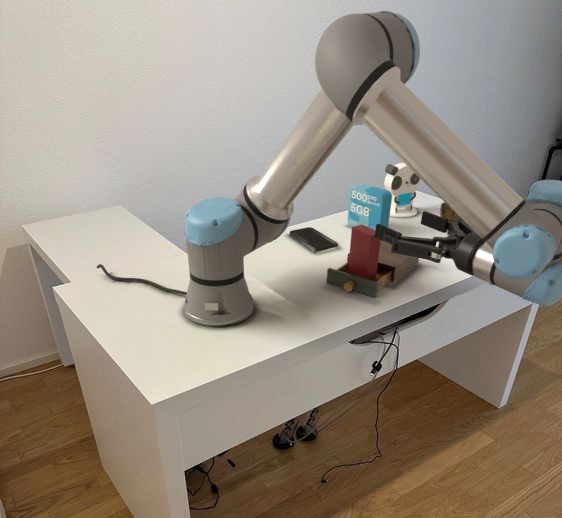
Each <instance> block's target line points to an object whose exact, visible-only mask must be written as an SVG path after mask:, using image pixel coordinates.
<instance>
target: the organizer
mask: <svg viewBox="0 0 562 518" xmlns="http://www.w3.org/2000/svg"><path fill="white" fill-rule="evenodd" d="M391 246H392V245H391V244H389V243H386V242H384V241H382V240H381V241H380V250H379V258H378V264H379V265H383V266H387V267H390V268H394V270H393V277H392V281H391V283H396V282H397V280H398V279H400V278H401V277H402V276H403V275H404V274H406V273H407V272H408V271H409V270H410V269H412V268H413V267H414V266H416V265H417V264H418V263H419V260H420V258H416V257H411V256H406V255H401V254H396V253H392V252H391ZM349 254H350V252H349V253H347V259H346V263H347V262H348V261H349Z"/></svg>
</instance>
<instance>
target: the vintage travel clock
mask: <svg viewBox="0 0 562 518" xmlns="http://www.w3.org/2000/svg"><path fill="white" fill-rule="evenodd" d="M439 216H440V217H443V218H445V219H448V220H449V221H450V220H455V221H456V222H457V221H458V219H462V218H461V217H459V216H458V215H457V214H456V213H455V212H454V211H453V210H452V209H451V208H450V207H449V206H448V205H447V204H446V203H445V202H444V201H443V202H442V203H441V204H440V210H439Z"/></svg>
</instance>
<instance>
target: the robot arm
mask: <svg viewBox="0 0 562 518" xmlns="http://www.w3.org/2000/svg"><path fill="white" fill-rule="evenodd" d="M420 45H421V43H420V38H419V35H418V32H417V30H416V28H415V27H414V25H413V24H412V22H411V20H409V19H408V18H407V17H405V16H404V15H402V14H400V13H397V12H393V11H390V10H380V11H375V12H364V13H348V14H345V15H343V16H340V17H339V18H337V19H335V20H334V21H333V22H331V23H330V24H329V25H328V27H326V29H325V30H324V31H323V33H322V34H321V36H320V38H319V41H318V43H317V46H316V50H315V58H314V66H315V67H314V68H315V73H316V77H317V80H318V83H319V85H320V89H319V90H318V92H317V93H316V94H315V96H314V98H313V99H312V100H311V102H310V103H309V105H308V107H307V108H306V109H305V111H304V112H303V114H302V115H301V116H300V118H299V120H298V121H297V123H296V124H295V125H294V127H292V130H291V131H290V132H289V134H288V135H287V137H286V139H285V140H284V141H283V143H282V144H281V146H280V147H279V149H278V150H277V151H276V152H275V154H274V156H273V157H272V159H271V160H270V161H269V163H268V164H267V166H266V167H265V169H264V170H263V172H262V173H261V174H260V175H254V176H252V177H250V178H249V179H248V181H247V182H246V183H245V185H244V186H243V187H242V189H241V191H240V192H239V194H238V195H237V196H236V197H235V198H234V199H233V198H229V197H226V196H225V197H223V196H222V197H221V196H219V197H218V196H216V197H212V198H205V199H202V200H200V201H197V202H195V203H194V204H192V205H191V206H190V207H189V208H188V209H187V210H186V212H185V216H184V236H185V244H186V253H187V261H188V271H189V282H188V286H187V291H184V290H178V289H173V288H169V287H165V286H163V285H160V284H158V283H156V282H153V281H151V280H149V279H144V278H139V277H120V276H115V275H112V274H110V273H109V271H107V269H106V267H105V266H104V265H103V264H102V263H99V264H98V265H96V269H100V268H101V271H102V272H103V273H104V274H105V275H106V277H108V278H109V279H111V280H114V281H120V282H123V281H124V282H138V283H144V284H148V285H151V286H152V287H155V288H157V289H160V290H162V291H165V292H170V293H174V294H179V295H183V296H185V299H184V313H185V316H186V317H187V318H188V319H189V320H190V321H192V322H193V323H196V324H199V325H202V326H207V327H227V326H232V325H236V324H238V323H241V322H243V321H246V320H247V319H249V317H251V316H252V314H253V312H254V299H253V297H252V294H251V292H250V290H249V287H248V283H247V280H246V278H245V261H244V259H245V256H248V255H249V254H252V252H254V251H256V250H258V249H260V248H261V247H264V246H265V245H267V244H269V243H272V242H274V241H275V240H278V238H280V236H282V235H283V234H284V232H286V230H287V229H288V227H289V225H290V221H291V217H292V215H293V213H294V211H295V209H294V208H295V207H294V201H295V200H296V199H297V198H298V197H299V195H300V194H301V193H302V191H303V190H304V189H305V188H306V186H307V185H308V184H309V183H310V181H311V180H312V179H313V178H314V177H315V175H316V174H317V173H318V171H319V170H320V169H321V167H322V166H323V165H324V164H325V162H326V161H327V160H328V159H329V157H330V156H331V155H332V154H333V152H334V151H335V150H336V149H337V147H339V145H340V143H341V142H342V141H343V140H344V138H345V137H346V136H347V134H348V133H349V132H350V131H351V129H352V128H353V127H354V126H363V125H364V126H366V127H367V128H368V129H369V130H370V131H371V133H373V134H374V135H375V137H377V138H378V140H379V141H381V142H382V143H383V144H384V145H385V146H386V147H387V148H388V149H389V150H390V151H391V152H392V153H393V154H395V156H396V157H397V158H398V159H400V161H401V162H402V163H405V164H406V165H407V166H408V167H409V168H410V169H411V170H412V171H413V172H414V173H415V174H416V175H417V176H418V177H419V178H420V181H422V182H423V183H424V184H425V185H427V187H428V188H429V189H430V190H432V192H434V194H436V195H437V196H438V197H439V199H441V200H442V201H443V203H444V202H445V203H446V204H447V205H448V206H449V207H450V208H451V209H452V210H453V211H454V212H455V213H456V214H457V215H458V216H459V217H461V218H462V219H458V221H457V222H456V221H455V220H450V221H449V220H448V219H445V218H443V217H441V216H440V215H437V214H434V213H433V212H432V213H431V212H429V211H426V210H423V211H422V212H421V218H420V220H421V221H420V225H423V226H425V227H427V228H430V229H432V230H436V231H438V232H440V233H443V234H445V233H446V236H433V237H432V238H431V237H430V238H428V237H420V236H419V237H418V236H409V235H408V236H407V235H403V233H402V232H401V231H397V230H395V229H392V228H391V227H389V226H388V227H385V226H383V225H381V224H376V230H375V238H377V239H380V240H382V241H384V242H386V243H389V244H391V245H392V246H391V252H392V253H396V254H401V255H406V256H411V257H416V258H419V259H422V260H426V261H430V262H433V263H435V264H440V263H441V261H442V259H443V258H444V259H448V260H449V259H450V260H452V261H453V263H454V265H455V268H456V269H457V270H458V271H460V272H463V273H465V274H467V275H469V276H472V277H475V278H477V279H479V280H482V281H484V282H487V283H488V284H489V285H490V286H495V287H498V288H500V289H502V290H503V291H506V292H508V293H511V294H513V295H515V296H517V297H520V298H522V300H524V301H528V302H531V303H534V304H536V305H540V306H543V307H550V306H552V305H554V304H556V303H558V302H559V301H560V300H561V299H562V180H558V179H543V180H538V181H535V182H534V183H533V184H532V185H531V186H530V189H529V192H528V195H527V197H526V198H525V200H524V198H523V197H522V196H521V195H520V194H519V193H517V192H516V191H515V189H513V187H511V186H510V185H509V184H508V183H507V182H506V181H505V180H504V179H503V177H501V176H500V175H499V174H498V173H497V172H496V171H495V170H494V169H493V168H492V167H490V165H489V164H487V162H486V161H485V160H484V159H482V158H481V157H480V156H479V155H478V154H477V153H476V152H475V151H474V150H473V149H472V148H471V147H470V146H469V145H468V144H467V143H466V142H464V140H463V139H462V138H461V137H460V136H459V135H457V133H455V132H454V131H453V129H451V128H450V127H449V126H448V125H447V124H446V123H445V122H444V121H443V120H442V119H441V118H440V117H439V116H438V115H437V114H436V113H435V112H434V111H433V110H431V109H430V107H428V106H427V105H426V104H425V102H423V101H422V100H421V98H419V97H418V96H417V95H416V94H415V93H414V92H413V91H412V90H411V89H410V88H409V87H408V86H407V85H406V84H407V82H409V81H410V80H411V79H412V77H413V76H414V74H415V72H416V70H417V69H418V65H419V62H420V55H421V46H420ZM437 243H438V244H437Z"/></svg>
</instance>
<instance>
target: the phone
mask: <svg viewBox="0 0 562 518" xmlns="http://www.w3.org/2000/svg"><path fill="white" fill-rule="evenodd" d="M289 237H290V238H292V239H294V240H295V241H297V242H298V243H299V244H301V245H303V246H304V247H306V248H307V249H309V250H310V251H312V252H313V253H320V252H324V251H327V250H330V249H334V248H337V247H338V246H339V243H338V242H337V241H335V240H333V239H332V238H330V237H328V236H327V235H325V234H324V233H322V232H321V231H319V230H317V229H315V228H314V227H312V226H311V227H310V226H308V227H307V226H306V227H303V228H296V229H292V230H290V231H289Z"/></svg>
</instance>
